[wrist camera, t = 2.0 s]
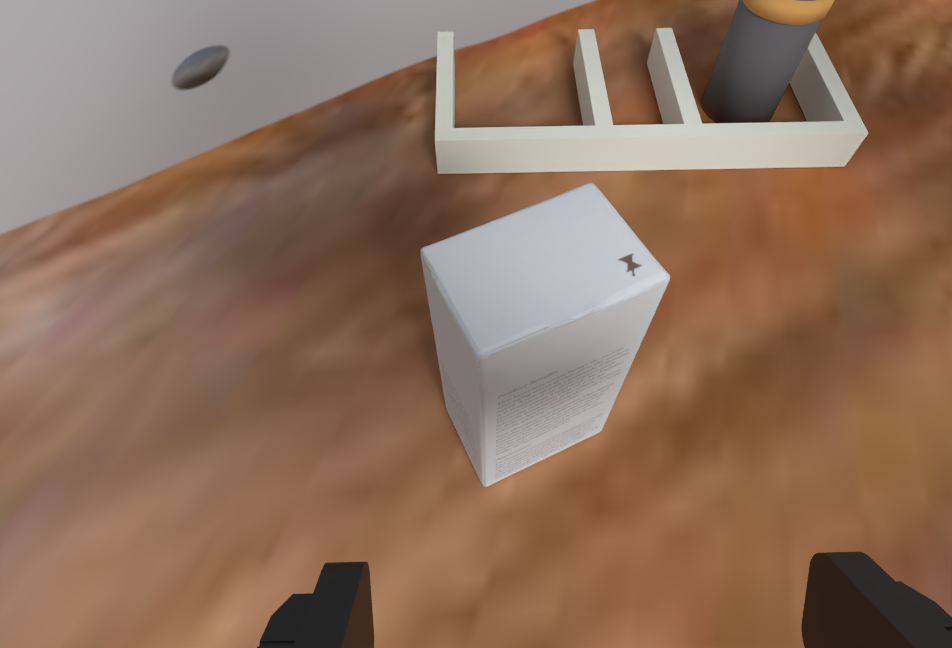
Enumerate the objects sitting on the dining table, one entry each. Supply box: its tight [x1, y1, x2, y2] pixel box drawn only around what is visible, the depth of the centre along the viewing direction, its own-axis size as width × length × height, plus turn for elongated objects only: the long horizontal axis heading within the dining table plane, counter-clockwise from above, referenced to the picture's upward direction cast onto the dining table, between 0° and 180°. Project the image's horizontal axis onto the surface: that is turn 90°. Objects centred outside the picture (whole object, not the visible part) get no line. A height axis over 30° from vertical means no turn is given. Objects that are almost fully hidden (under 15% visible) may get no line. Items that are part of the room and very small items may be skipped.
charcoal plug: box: [702, 0, 834, 123], centre depth 33 cm, size 5×5×10 cm
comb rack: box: [435, 28, 868, 174], centre depth 36 cm, size 24×10×2 cm, turn 91°
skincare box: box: [420, 183, 670, 487], centre depth 22 cm, size 6×4×12 cm
